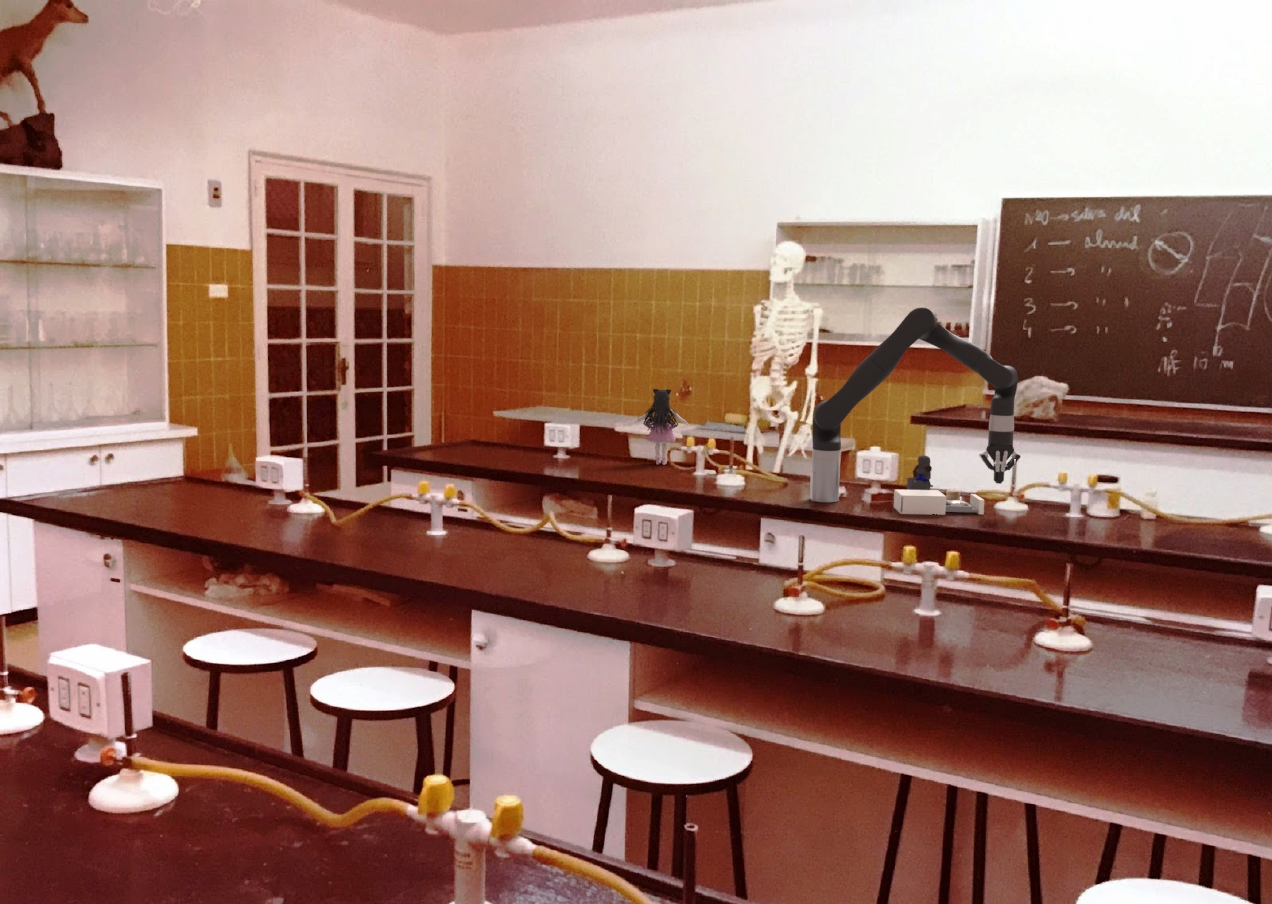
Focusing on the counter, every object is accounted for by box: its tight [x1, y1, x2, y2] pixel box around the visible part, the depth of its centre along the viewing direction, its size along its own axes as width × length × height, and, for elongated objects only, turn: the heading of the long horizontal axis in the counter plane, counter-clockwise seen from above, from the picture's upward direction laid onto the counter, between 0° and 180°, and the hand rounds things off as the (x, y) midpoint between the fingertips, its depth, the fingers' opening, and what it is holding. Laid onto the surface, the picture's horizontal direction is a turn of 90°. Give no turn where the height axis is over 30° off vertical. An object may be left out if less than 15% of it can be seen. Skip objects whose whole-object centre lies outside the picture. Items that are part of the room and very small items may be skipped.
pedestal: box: [945, 489, 961, 501], centre depth 373 cm, size 4×4×5 cm
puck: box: [946, 500, 967, 506], centre depth 364 cm, size 6×6×2 cm
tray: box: [945, 493, 985, 515], centre depth 364 cm, size 16×11×5 cm, turn 89°
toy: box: [905, 455, 934, 490], centre depth 384 cm, size 11×10×15 cm
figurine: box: [633, 388, 690, 466], centre depth 452 cm, size 22×10×30 cm, turn 77°
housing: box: [893, 489, 946, 516], centre depth 364 cm, size 14×11×6 cm
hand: (998, 483), depth 363 cm, fingers closed
